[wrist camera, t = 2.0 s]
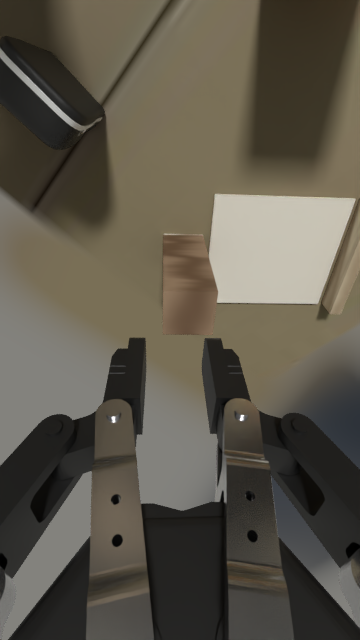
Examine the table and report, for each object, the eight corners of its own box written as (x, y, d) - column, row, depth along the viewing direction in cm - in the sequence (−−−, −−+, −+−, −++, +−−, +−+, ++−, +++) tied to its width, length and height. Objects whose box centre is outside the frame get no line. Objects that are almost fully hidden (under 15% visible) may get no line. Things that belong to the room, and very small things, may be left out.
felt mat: (203, 301, 45) (204, 302, 45) (214, 193, 37) (215, 194, 36) (316, 302, 46) (317, 303, 46) (353, 198, 38) (355, 199, 37)
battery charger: (25, 83, 30) (-36, 80, 21) (47, 47, 28) (-9, 25, 19) (86, 143, 33) (56, 163, 24) (108, 113, 31) (86, 121, 22)
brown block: (162, 269, 42) (162, 334, 31) (163, 233, 39) (163, 291, 28) (199, 270, 42) (212, 334, 31) (202, 234, 39) (218, 291, 28)
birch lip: (321, 302, 46) (329, 314, 44) (359, 198, 38) (373, 205, 35) (331, 302, 47) (340, 314, 44) (372, 198, 38) (386, 206, 35)
